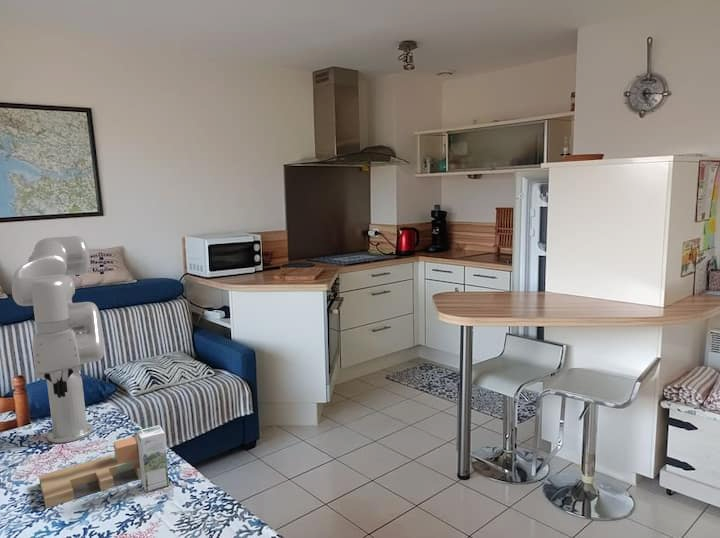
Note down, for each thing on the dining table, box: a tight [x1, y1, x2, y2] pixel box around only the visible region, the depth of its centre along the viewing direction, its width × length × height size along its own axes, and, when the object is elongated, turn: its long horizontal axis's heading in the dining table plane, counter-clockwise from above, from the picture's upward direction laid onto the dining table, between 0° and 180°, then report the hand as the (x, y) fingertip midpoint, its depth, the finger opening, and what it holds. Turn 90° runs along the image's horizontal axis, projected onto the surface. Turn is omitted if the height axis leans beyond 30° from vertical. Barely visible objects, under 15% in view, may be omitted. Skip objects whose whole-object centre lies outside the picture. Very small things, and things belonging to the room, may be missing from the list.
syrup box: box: [136, 425, 170, 493], centre depth 135 cm, size 6×6×14 cm
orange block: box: [113, 436, 138, 465], centre depth 146 cm, size 5×5×4 cm
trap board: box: [38, 434, 141, 509], centre depth 140 cm, size 14×24×6 cm, turn 126°
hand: (61, 395), depth 140 cm, fingers closed
